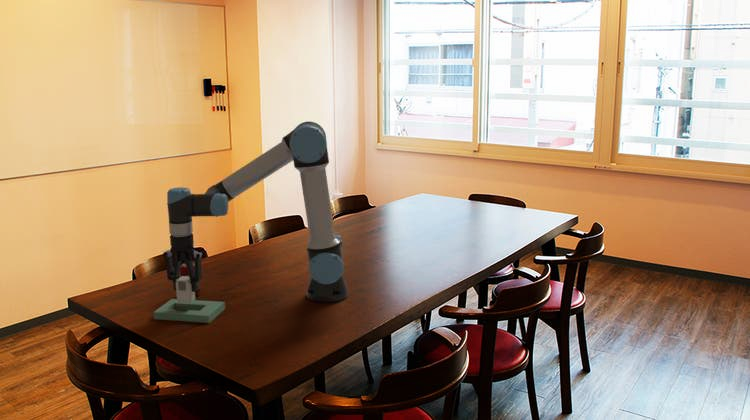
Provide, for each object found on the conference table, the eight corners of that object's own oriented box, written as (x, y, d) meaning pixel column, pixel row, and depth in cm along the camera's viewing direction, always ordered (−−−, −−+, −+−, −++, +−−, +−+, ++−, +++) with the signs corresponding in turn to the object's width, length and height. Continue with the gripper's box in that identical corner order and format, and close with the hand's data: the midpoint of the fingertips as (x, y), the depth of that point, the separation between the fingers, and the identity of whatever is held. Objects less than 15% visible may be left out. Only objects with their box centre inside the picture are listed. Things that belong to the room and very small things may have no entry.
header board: (225, 308, 240) (224, 297, 239) (209, 322, 227) (208, 311, 227) (172, 305, 244) (171, 294, 243) (154, 319, 231) (153, 307, 230)
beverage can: (182, 299, 250) (179, 267, 247) (182, 293, 256) (179, 262, 253) (201, 297, 252) (198, 266, 249) (200, 291, 258) (198, 260, 255)
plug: (194, 298, 236) (192, 276, 234) (188, 303, 232) (186, 281, 230) (183, 298, 237) (181, 276, 235) (177, 302, 233) (175, 280, 231)
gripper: (209, 232, 231) (213, 297, 237) (163, 229, 235) (168, 294, 240) (200, 238, 224) (204, 305, 229) (152, 235, 227) (157, 302, 233)
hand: (186, 299), depth 235 cm, fingers closed on plug, 4 cm apart
